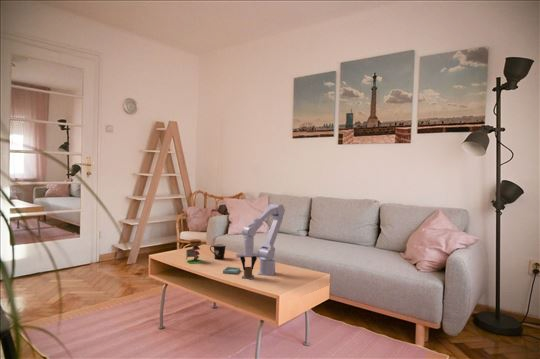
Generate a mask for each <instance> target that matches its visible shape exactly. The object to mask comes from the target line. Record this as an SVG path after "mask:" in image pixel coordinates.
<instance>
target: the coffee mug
mask: <svg viewBox="0 0 540 359" xmlns="http://www.w3.org/2000/svg"><path fill="white" fill-rule="evenodd" d="M212 248H213V250H212ZM209 250H210V252H211V253H213V255H214V260H218V261H219V260H220V261H221V260H224V259H225V254H226V244H224V243H216V244H213V245H210V247H209Z"/></svg>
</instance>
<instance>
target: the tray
mask: <svg viewBox="0 0 540 359" xmlns="http://www.w3.org/2000/svg"><path fill="white" fill-rule="evenodd" d="M240 271H241V267H233V266H226V267H225V268H224V269H223V270H222V274H225V275H226V274H228V275H237V274H239V272H240Z"/></svg>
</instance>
